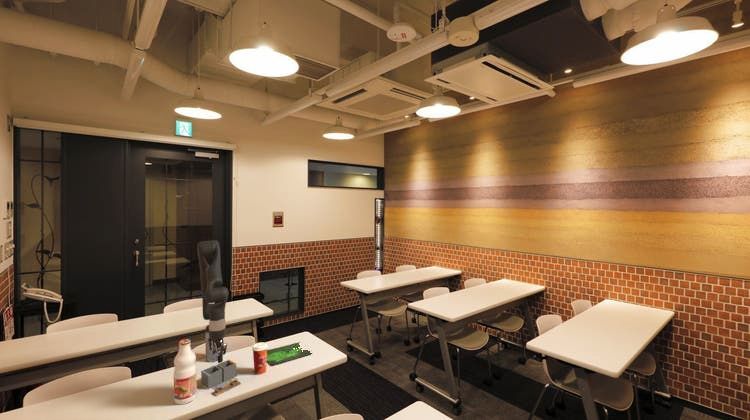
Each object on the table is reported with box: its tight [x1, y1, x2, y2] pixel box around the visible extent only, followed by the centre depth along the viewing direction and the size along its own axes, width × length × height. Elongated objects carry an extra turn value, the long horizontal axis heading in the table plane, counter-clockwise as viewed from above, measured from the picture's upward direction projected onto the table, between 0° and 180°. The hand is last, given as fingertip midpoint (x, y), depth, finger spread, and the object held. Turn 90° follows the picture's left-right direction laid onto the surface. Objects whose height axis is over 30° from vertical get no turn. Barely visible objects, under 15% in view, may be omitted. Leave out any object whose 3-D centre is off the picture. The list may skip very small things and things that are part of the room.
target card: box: [211, 377, 239, 390], centre depth 168 cm, size 4×12×1 cm, turn 144°
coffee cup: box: [251, 341, 269, 375], centre depth 180 cm, size 8×8×15 cm
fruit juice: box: [173, 338, 198, 405], centre depth 155 cm, size 9×9×28 cm
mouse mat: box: [266, 342, 313, 367], centre depth 202 cm, size 27×22×1 cm
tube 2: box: [215, 358, 238, 383], centre depth 175 cm, size 7×7×7 cm
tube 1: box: [200, 365, 223, 390], centre depth 168 cm, size 7×7×7 cm
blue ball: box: [213, 351, 220, 362], centre depth 162 cm, size 4×4×4 cm
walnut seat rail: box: [212, 380, 241, 397], centre depth 163 cm, size 3×13×2 cm, turn 144°
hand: (217, 360), depth 163 cm, fingers closed on blue ball, 4 cm apart
